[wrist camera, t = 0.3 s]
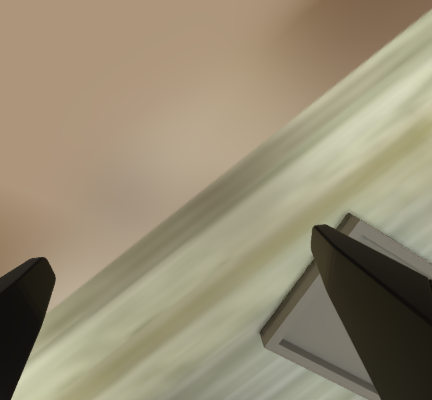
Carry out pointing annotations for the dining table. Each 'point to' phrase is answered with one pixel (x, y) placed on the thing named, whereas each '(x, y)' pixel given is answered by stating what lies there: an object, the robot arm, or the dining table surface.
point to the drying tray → (330, 318)
